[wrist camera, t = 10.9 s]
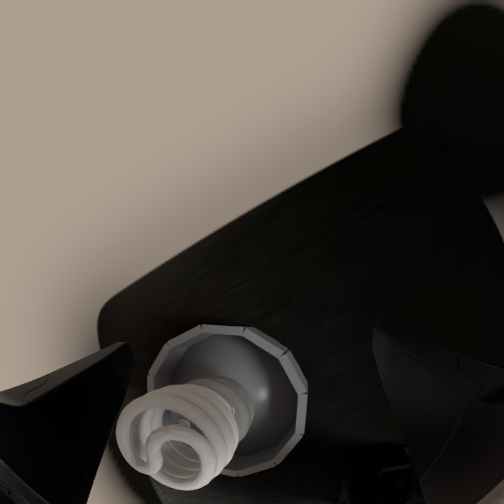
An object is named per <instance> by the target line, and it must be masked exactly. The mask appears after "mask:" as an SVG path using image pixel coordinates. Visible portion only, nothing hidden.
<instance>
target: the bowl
mask: <svg viewBox="0 0 504 504" xmlns="http://www.w3.org/2000/svg"><path fill="white" fill-rule="evenodd" d="M287 349H288V348H287V347H285V346H283V345H282V344H280V343H279V342H277V341H276V340H275V339H273V338H272V337H270V336H268V335H266V334H264V333H262V332H261V331H259V330H258V329H256V328H253V327H236V326H220V325H204V324H202V325H199V326H197V327H195V328H193V329H191V330H189V331H187V332H185V333H183V334H181V335H179V336H177V337H175V338H173V339H171V340H169V341H167V343H165V345H164V346H163V348H162V350H161V351H160V353H159V355H158V357H157V358H156V360H155V362H154V363H153V365H152V367H151V369H150V370H149V372H148V373H149V374H150V375H147V393H149V392H151V391H153V390H157V389H161V388H163V387H166V386H170V385H183V384H186V383H188V382H189V381H190V380H194V379H198V378H202V377H206V376H217V375H222V376H225V377H228V378H231V379H234V380H236V381H237V382H238V383H239V384H241V385H242V386H243V387H245V389H246V390H247V391H248V393H249V394H250V396H251V398H252V401H253V403H254V417H253V420H252V423H251V425H250V427H249V430H248V432H247V434H246V436H245V437H244V438H243V439H242V440H241V441H240V442H238V445H237V448H236V450H235V451H234V454H233V457H232V459H231V460H230V462H229V463H228V464H227V465H226V466H225V467H224V468H223V470H222V471H221V473H220V474H223V475H228V476H234V477H238V475H239V476H240V477H241V476H245V475H249V474H252V473H256V472H259V471H262V470H266V469H269V468H272V467H275V466H276V465H277V464H278V465H279V463H280V462H281V461H282V460H283V459H284V458H285V457H286V456H287V454H288V453H289V452H290V451H291V450H292V449H293V448H294V446H295V445H296V444H297V443H298V442H299V440H300V439H301V438H302V437H303V434H304V429H305V420H306V409H307V396H308V385H307V384H308V383H307V381H306V379H305V377H304V375H303V373H302V371H301V369H300V367H299V365H298V363H297V362H296V360H295V359H294V357H293V355H292V353H291V352H290V350H289V351H288V350H287ZM169 425H174V423H173V419H172V415H171V411H170V410H166V409H165V411H164V414H163V419H162V426H163V427H164V426H169ZM168 443H169V444H170V446H171V447H172V448H173V449H174V450H175V451H176V452H177V450H176V449H175V448H174V447H173V444H172V440H170V441H168ZM187 446H189V447H191V446H190V445H188V444H187ZM191 448H192V447H191ZM177 453H178V452H177ZM178 454H179V453H178ZM179 455H181V454H179ZM181 456H182V455H181ZM182 457H184V456H182ZM184 458H185V457H184ZM186 459H187V458H186ZM188 460H189V459H188Z"/></svg>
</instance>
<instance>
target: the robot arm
mask: <svg viewBox="0 0 504 504" xmlns="http://www.w3.org/2000/svg"><path fill="white" fill-rule="evenodd" d="M372 349H373V353H374V357H375V360H376V363H377V367H378V370H379V374H380V377H381V381H382V384H383V387H384V389H385V392H386V394H387V397H388V399H389V401H390V404H391V406H392V409H393V411H394V414H395V416H396V419H397V422H398V424H399V427H400V429H401V432H402V435H403V437H404V440H405V443H406V446H402V445H396V446H388V447H380V448H374V449H372V450H368V451H356V452H351V453H349V454H348V455H347V458H346V464H345V469H344V474H343V479H342V484H341V489H340V493H339V497H338V501H337V504H341V503H344V504H504V370H502V369H499V368H496V367H492V366H489V365H486V364H483V363H480V362H477V361H475V360H472V359H469V358H467V357H464V356H462V355H460V354H457V353H455V352H452V351H450V350H448V349H445V348H443V347H441V346H438V345H436V344H433V343H431V342H429V341H426V340H424V339H422V338H419V337H417V336H415V335H412V334H410V333H408V332H405V331H403V330H401V329H398V328H396V327H394V326H391V325H389V324H387V323H383V324H378V325H375V327H374V332H373V343H372ZM135 364H136V362H135V358H134V356H133V353H132V350H131V348H130V345H129V344H128V343H126V342H117V343H115V344H113V345H111V346H109V347H107V348H104V349H102V350H100V351H98V352H96V353H94V354H91V355H89V356H87V357H85V358H83V359H80V360H78V361H76V362H74V363H72V364H69V365H67V366H65V367H63V368H60V369H58V370H56V371H54V372H51V373H50V374H47V375H45V376H42V377H40V378H37V379H35V380H32V381H30V382H27V383H24V384H22V385H19V386H16V387H13V388H11V389H7V390H4V391H1V392H0V504H87V501H88V498H89V494H90V491H91V488H92V485H93V481H94V479H95V476H96V473H97V470H98V467H99V464H100V462H101V459H102V456H103V453H104V451H105V448H106V445H107V443H108V440H109V437H110V435H111V432H112V429H113V427H114V424H115V422H116V420H117V417H118V415H119V412H120V410H121V407H122V405H123V402H124V400H125V397H126V395H127V391H128V388H129V385H130V381H131V378H132V375H133V372H134V368H135ZM352 456H356V457H355V458H354V459H351V457H352Z"/></svg>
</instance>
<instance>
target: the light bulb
mask: <svg viewBox="0 0 504 504" xmlns="http://www.w3.org/2000/svg"><path fill="white" fill-rule="evenodd" d="M165 409H166V410H170V411H171V415H172V419H173V423H174V425H169V426H164V427H163V426H162V419H163V414H164V411H165ZM253 417H254V403H253V401H252V398H251V396H250V394H249V393H248V391H247V390H246V389H245V387H243V386H242V385H241V384H239V383H238V382H237V381H236V380H234V379H231V378H228V377H225V376H222V375H217V376H206V377H202V378H198V379H194V380H190V381H189V382H188V383H186V384H183V385H170V386H166V387H163V388H161V389H157V390H153V391H151V392H149V393H147V394H145V395H144V396H141V397H139V398H137V399H135V400H133V401H132V402H131V403H130V404H128V405H127V406H126V407H125V408H124V410H123V411H122V413H121V414H120V417H119V420H118V422H117V427H116V437H117V442H118V445H119V448H120V451H121V452H122V454H123V456H124V458H125V459H126V461H127V462H128V463H129V464H130V465H131V466H132V467H133V468H135V469H136V470H137V471H139V472H141V473H144V474H147V475H150V476H151V477H153V478H154V479H155V480H157V481H158V482H160V483H162V484H164V485H166V486H169V487H172V488H175V489H179V490H194V489H199V488H201V487H203V486H205V485H207V484H208V483H209V482H210V481H211V480H212V479H213V478H214V477H216V476H217V475H219V474H220V473H221V471H222V470H223V468H224V467H225V466H226V465H227V464H228V463H229V462H230V460H231V459H232V457H233V454H234V451H235V450H236V448H237V445H238V442H240V441H241V440H242V439H243V438H244V437H245V436H246V434H247V432H248V430H249V427H250V425H251V423H252V420H253ZM170 440H172V444H173V447H174V448H175V449H176V450H177V452H178V453H179V454H181V455H182V456H184V457H185V458H184V457H182V456H181V455H179V454H178V453H177V452H176V451H175V450H174V449H173V448H172V447H171V446H170V444H169V443H168V441H170ZM187 444H188V445H190V446H191V447H192V448H191V447H189V446H187ZM161 453H162V454H163V455H162V454H161ZM165 458H166V459H165ZM186 458H187V459H186ZM188 459H189V460H188ZM169 461H170V462H169Z"/></svg>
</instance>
